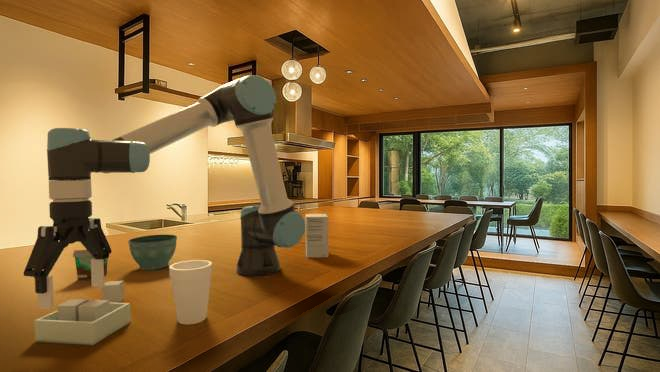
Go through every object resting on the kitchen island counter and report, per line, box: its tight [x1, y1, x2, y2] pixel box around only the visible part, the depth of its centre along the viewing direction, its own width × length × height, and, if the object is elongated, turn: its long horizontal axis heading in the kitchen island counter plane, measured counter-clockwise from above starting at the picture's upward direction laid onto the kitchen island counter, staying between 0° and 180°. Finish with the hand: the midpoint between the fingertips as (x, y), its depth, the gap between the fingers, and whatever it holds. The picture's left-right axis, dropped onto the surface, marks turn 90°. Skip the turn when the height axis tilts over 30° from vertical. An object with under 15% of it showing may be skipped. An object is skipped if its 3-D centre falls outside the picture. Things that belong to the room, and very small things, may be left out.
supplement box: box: [304, 213, 329, 259], centre depth 150 cm, size 10×9×17 cm
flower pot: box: [127, 234, 178, 271], centre depth 132 cm, size 16×16×11 cm
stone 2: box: [78, 299, 110, 322], centre depth 78 cm, size 4×4×6 cm
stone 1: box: [56, 298, 90, 321], centre depth 79 cm, size 4×4×6 cm
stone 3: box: [101, 280, 125, 303], centre depth 98 cm, size 4×4×5 cm
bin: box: [34, 302, 132, 346], centre depth 79 cm, size 13×11×4 cm
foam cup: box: [168, 259, 213, 325], centre depth 85 cm, size 10×9×13 cm
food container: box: [72, 248, 109, 281], centre depth 121 cm, size 12×6×10 cm, turn 168°
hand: (74, 296), depth 79 cm, fingers open, 13 cm apart
